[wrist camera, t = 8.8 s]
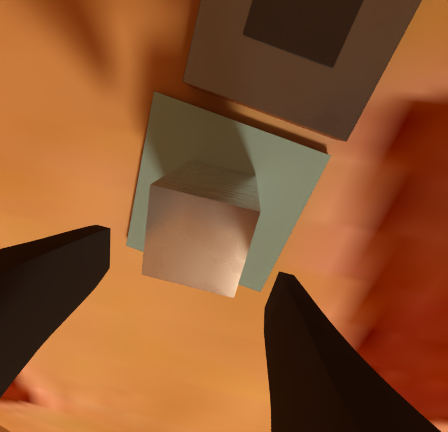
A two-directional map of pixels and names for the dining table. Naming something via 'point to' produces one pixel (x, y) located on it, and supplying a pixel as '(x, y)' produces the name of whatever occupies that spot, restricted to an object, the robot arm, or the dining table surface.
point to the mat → (232, 159)
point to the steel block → (201, 226)
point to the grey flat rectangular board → (297, 56)
